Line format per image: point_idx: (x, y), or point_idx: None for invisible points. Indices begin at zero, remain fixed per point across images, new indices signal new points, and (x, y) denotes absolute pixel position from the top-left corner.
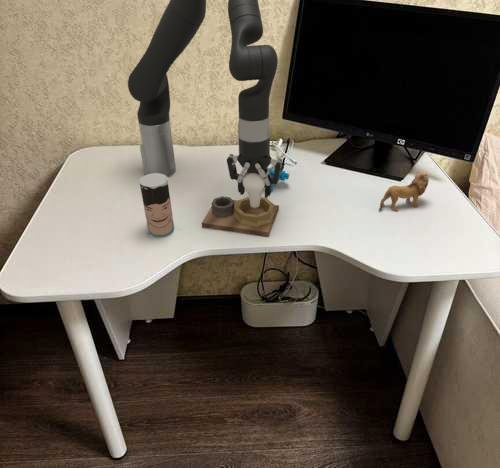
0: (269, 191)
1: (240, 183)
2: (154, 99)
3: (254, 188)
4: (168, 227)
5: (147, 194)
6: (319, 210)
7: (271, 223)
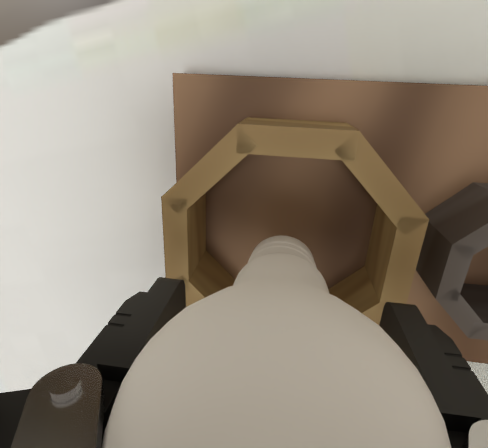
0: (118, 321)
1: (467, 408)
2: None
3: (242, 300)
4: None
5: None
6: (31, 319)
7: (177, 167)
